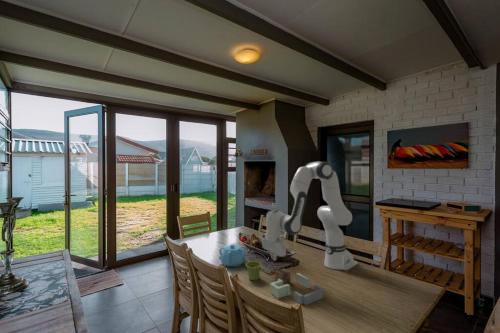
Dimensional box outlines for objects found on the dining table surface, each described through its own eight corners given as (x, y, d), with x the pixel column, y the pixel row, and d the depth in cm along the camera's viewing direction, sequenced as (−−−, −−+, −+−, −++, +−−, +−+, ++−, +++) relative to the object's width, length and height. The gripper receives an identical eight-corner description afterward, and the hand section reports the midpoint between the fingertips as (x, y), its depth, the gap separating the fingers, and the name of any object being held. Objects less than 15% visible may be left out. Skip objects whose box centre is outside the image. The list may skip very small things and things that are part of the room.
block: (283, 278, 148) (283, 268, 148) (290, 282, 143) (290, 272, 143) (275, 281, 145) (275, 270, 145) (282, 285, 140) (281, 274, 140)
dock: (316, 291, 132) (316, 284, 132) (325, 297, 126) (325, 289, 126) (294, 300, 124) (294, 292, 124) (303, 306, 119) (302, 297, 119)
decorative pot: (225, 271, 162) (224, 250, 162) (218, 262, 176) (217, 243, 176) (248, 266, 168) (247, 246, 168) (239, 258, 183) (238, 240, 183)
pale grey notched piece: (298, 281, 144) (298, 272, 144) (309, 287, 136) (309, 278, 136) (268, 291, 133) (268, 282, 133) (278, 299, 125) (278, 289, 125)
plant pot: (248, 283, 144) (248, 268, 144) (244, 276, 153) (244, 262, 153) (263, 280, 146) (263, 265, 146) (259, 274, 155) (258, 260, 155)
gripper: (288, 240, 144) (288, 264, 144) (268, 232, 161) (268, 253, 161) (279, 242, 141) (279, 266, 140) (260, 234, 158) (260, 255, 158)
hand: (273, 259), depth 151 cm, fingers closed
